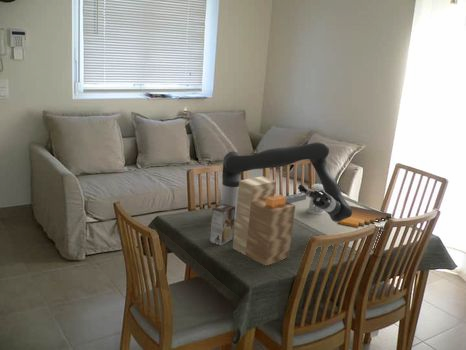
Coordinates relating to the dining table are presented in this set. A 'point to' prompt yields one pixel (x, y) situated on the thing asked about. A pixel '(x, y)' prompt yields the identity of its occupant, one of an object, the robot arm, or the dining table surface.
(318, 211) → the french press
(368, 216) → the pan flute
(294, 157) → the robot arm
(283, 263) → the dining table surface
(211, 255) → the dining table surface
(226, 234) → the coffee box
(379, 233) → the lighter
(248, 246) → the stand
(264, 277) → the dining table surface
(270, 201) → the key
